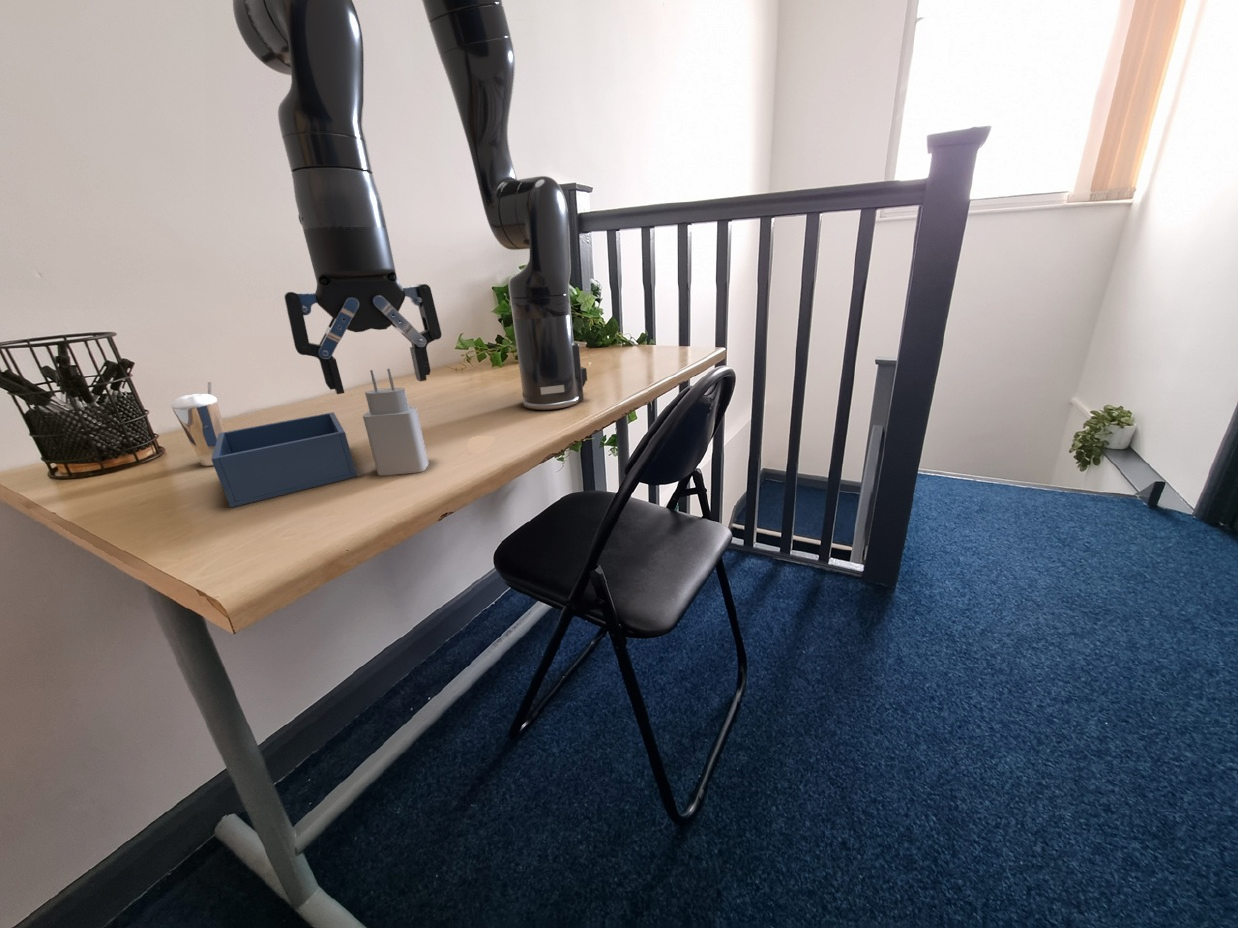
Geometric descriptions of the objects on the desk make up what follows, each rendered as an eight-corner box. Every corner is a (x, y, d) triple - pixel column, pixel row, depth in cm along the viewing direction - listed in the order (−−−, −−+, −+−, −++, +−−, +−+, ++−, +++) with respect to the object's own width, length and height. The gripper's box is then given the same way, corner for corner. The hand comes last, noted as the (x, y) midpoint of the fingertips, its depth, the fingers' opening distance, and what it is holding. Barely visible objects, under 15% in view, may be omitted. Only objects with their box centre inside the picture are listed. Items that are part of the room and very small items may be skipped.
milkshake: (251, 452, 68) (225, 381, 65) (218, 467, 63) (188, 391, 60) (221, 453, 69) (194, 382, 65) (186, 468, 64) (154, 392, 60)
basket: (344, 451, 67) (333, 412, 65) (357, 476, 58) (345, 432, 56) (234, 475, 61) (218, 433, 58) (230, 507, 52) (211, 459, 50)
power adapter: (423, 472, 58) (400, 370, 54) (375, 476, 58) (348, 374, 53) (430, 462, 61) (409, 364, 56) (385, 466, 61) (360, 368, 56)
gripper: (260, 222, 43) (312, 404, 49) (428, 222, 50) (456, 381, 56) (260, 230, 49) (307, 392, 55) (410, 229, 56) (437, 372, 62)
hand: (382, 386), depth 55 cm, fingers open, 8 cm apart
